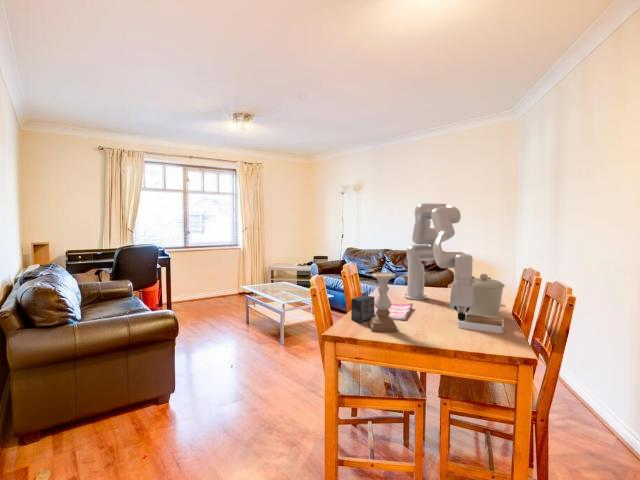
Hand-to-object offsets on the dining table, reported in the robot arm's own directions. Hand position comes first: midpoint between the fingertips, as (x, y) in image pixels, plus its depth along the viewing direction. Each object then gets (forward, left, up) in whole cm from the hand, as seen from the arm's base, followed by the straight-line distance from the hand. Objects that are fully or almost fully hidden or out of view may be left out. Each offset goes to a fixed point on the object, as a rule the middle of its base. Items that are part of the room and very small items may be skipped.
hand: (461, 321), depth 161 cm
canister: (-17, +8, -2) cm, 19 cm away
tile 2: (0, +13, -1) cm, 13 cm away
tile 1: (0, +6, -1) cm, 6 cm away
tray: (0, +8, -1) cm, 8 cm away
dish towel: (-4, -33, -2) cm, 33 cm away
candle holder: (+21, -31, -2) cm, 37 cm away
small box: (+13, -43, -2) cm, 45 cm away
